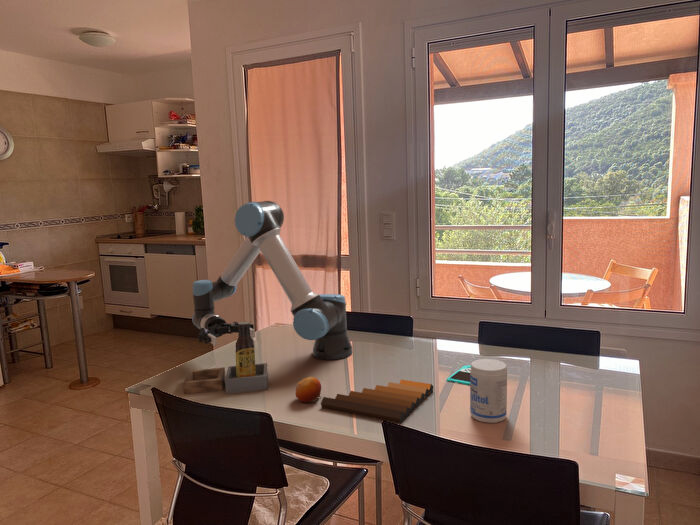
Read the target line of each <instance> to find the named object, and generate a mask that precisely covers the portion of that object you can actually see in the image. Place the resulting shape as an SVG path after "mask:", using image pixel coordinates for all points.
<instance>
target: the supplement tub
mask: <svg viewBox="0 0 700 525" xmlns="http://www.w3.org/2000/svg"><path fill="white" fill-rule="evenodd" d="M470 365H471V370H470V385H469V387H470V388H469V391H470V392H469V394H470V395H469V407H470V408H469V410H470V412H469V413H470V416H471V417H472V418H473V419H475V420H477V421H479V422H480V423H488V424H497V423H500V422H503V421H504V420H505V419H506V418H507V410H508V408H507V407H508V405H507V404H508V403H507V402H508V400H507V399H508V368H507V364H506V363H505V362H503V361H502V360H498V359H492V358H479V359H476V360H473V361H472V362H471V363H470Z"/></svg>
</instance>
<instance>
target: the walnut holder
mask: <svg viewBox="0 0 700 525" xmlns="http://www.w3.org/2000/svg"><path fill="white" fill-rule="evenodd" d="M225 378H226V367H225V366H224V367H214V368H213V367H212V368H204V369H203V368H201V369H192V370H188V371H187V374H186V376H185V378H184V381H183V383H182V384H183V386H182V387H183V394H185V393H186V394H194V393H193V392H196V393H203V391H207V392H213V391H212V390H217V391H222V389H223V388H224V384H225ZM186 394H185V395H186Z"/></svg>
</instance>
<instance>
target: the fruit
mask: <svg viewBox="0 0 700 525" xmlns="http://www.w3.org/2000/svg"><path fill="white" fill-rule="evenodd" d="M321 391H322V383H321V381H320V380H319V379H318V378H316V377H315V376H308V377H305V378H303V379H301V381H298V382H297V383H296V386H295V397H296V399H297V400H298V401H300V402H301V403H304V404H305V403H306V404H308V403H313V402H314V403H317V400H318V398H322V396H321V393H322V392H321ZM322 399H323V398H322Z"/></svg>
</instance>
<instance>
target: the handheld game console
mask: <svg viewBox="0 0 700 525" xmlns="http://www.w3.org/2000/svg"><path fill="white" fill-rule="evenodd" d="M470 370H471V364H470V365H469V364H468V365H463V366H462V367H461V368H459V369H458V370H457V371H455V372H454V373H452V374H451V375H450V376H449V377H447V378H446V382H449V381H452V382H451V383H454V382H457V383H456V384H460V383H462V384H461V385H467V386H470Z"/></svg>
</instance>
